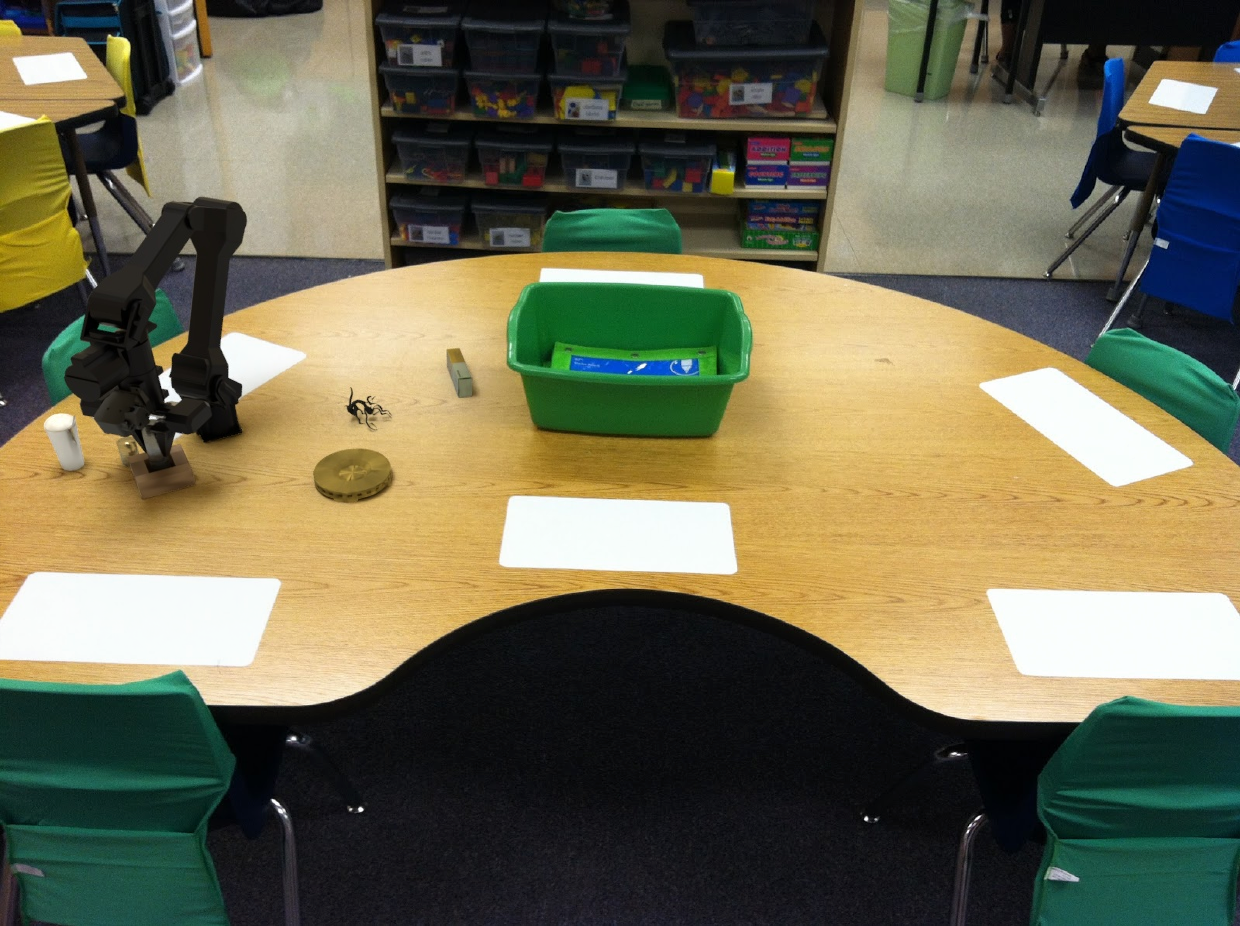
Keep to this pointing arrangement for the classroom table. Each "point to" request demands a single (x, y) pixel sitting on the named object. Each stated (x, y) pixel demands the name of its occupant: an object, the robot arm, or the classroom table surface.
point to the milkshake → (65, 440)
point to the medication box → (459, 373)
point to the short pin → (127, 449)
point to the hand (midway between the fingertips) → (157, 453)
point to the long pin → (154, 448)
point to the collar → (162, 473)
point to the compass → (352, 474)
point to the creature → (366, 408)
